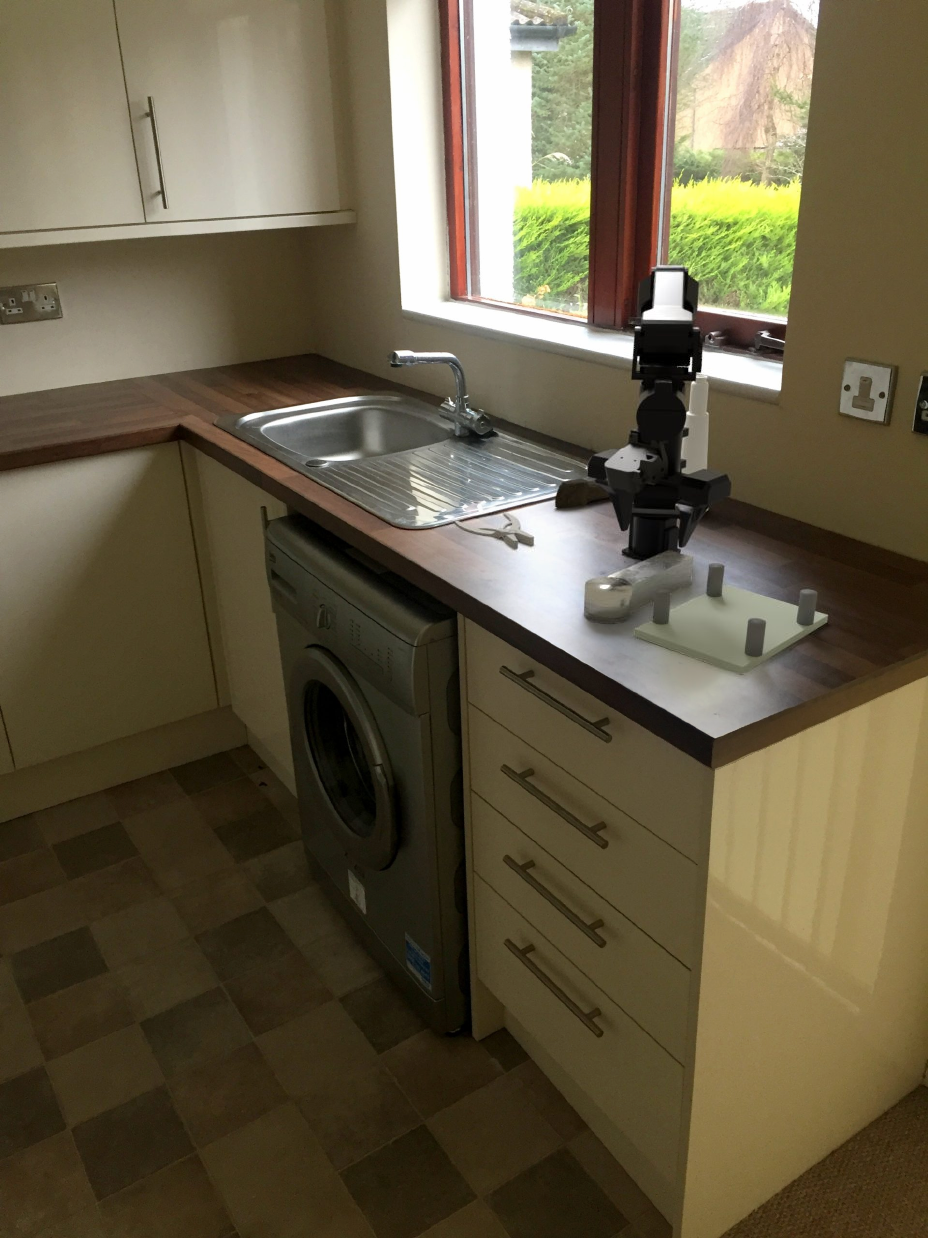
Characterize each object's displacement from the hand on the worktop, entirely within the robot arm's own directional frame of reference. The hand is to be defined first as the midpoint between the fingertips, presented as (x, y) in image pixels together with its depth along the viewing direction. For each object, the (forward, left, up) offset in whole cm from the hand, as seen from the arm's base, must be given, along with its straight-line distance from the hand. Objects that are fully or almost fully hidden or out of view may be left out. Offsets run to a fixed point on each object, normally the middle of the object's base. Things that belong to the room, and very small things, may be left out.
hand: (652, 538), depth 133 cm
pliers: (-32, +5, -9) cm, 33 cm away
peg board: (+14, -2, -8) cm, 16 cm away
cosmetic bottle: (-17, +35, -8) cm, 40 cm away
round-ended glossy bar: (0, -3, -8) cm, 8 cm away
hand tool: (-31, +29, -8) cm, 43 cm away
